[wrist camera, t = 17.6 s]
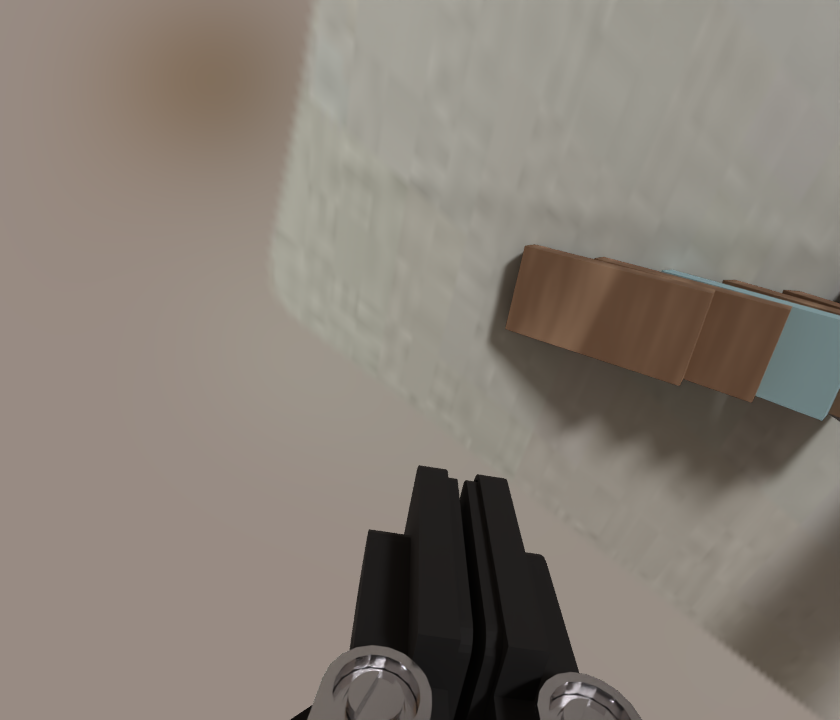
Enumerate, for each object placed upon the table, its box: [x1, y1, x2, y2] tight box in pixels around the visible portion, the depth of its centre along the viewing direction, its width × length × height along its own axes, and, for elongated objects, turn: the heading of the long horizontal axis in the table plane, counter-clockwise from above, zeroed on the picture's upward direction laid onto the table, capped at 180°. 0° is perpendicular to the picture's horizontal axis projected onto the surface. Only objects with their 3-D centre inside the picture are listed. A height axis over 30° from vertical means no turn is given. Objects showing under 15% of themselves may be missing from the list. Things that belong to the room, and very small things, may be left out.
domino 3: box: [662, 270, 840, 421], centre depth 32 cm, size 2×5×10 cm
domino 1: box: [505, 244, 715, 386], centre depth 32 cm, size 2×5×10 cm
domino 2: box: [595, 257, 793, 403], centre depth 32 cm, size 2×5×10 cm
